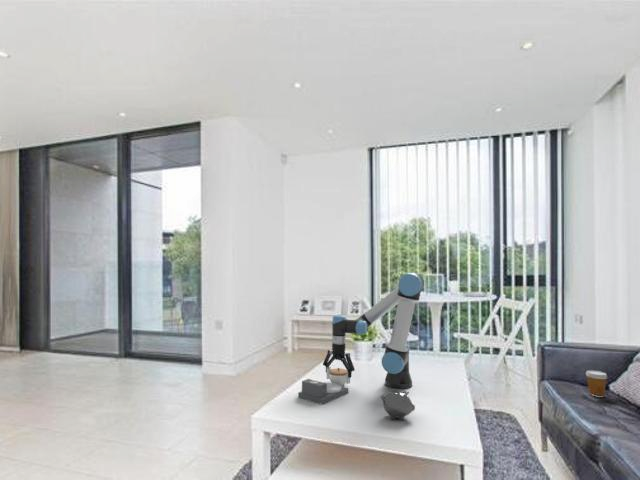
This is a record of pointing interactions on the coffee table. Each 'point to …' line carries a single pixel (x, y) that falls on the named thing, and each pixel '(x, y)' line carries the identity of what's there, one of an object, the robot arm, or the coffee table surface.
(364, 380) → the coffee table surface
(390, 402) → the piggy bank
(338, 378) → the lidded jar
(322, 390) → the scale
